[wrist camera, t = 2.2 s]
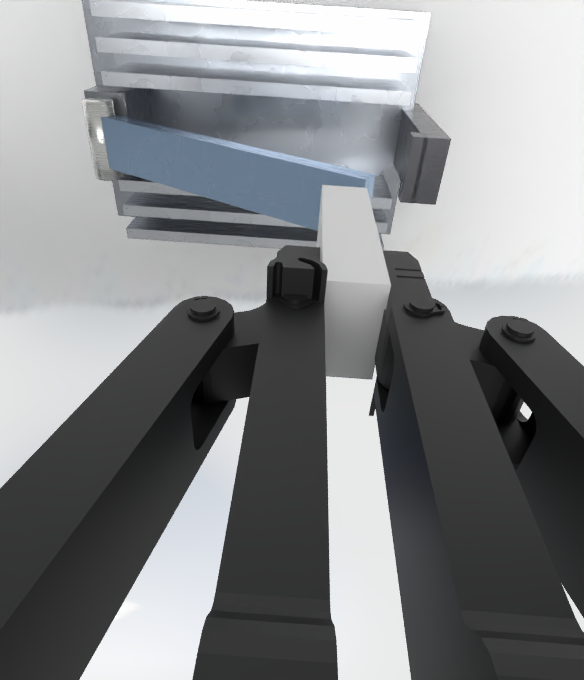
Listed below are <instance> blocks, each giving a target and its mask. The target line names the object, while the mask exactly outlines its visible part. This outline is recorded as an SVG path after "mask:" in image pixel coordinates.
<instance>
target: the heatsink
mask: <svg viewBox="0 0 584 680" xmlns="http://www.w3.org/2000/svg"><path fill="white" fill-rule="evenodd" d="M82 4H83V10H84V16H85V22H86V28H87V34H88V40H89V46H90V51H91V57H92V63H93V69H94V75H95V81H96V86H95V87H92V88H90V89H87V90H85V91H84V94H85V98H109V99H112V100H113V106H114V112H115V115H118V116H123V117H127V118H131V119H136V120H140V121H144V122H149V123H153V124H158V125H162V126H166V127H171V128H175V129H179V130H184V131H188V132H192V133H197V134H201V135H205V136H210V137H214V138H219V139H223V140H227V141H232V142H236V143H240V144H245V145H249V146H253V147H258V148H262V149H266V150H271V151H275V152H279V153H284V154H288V155H293V156H297V157H301V158H306V159H310V160H314V161H319V162H323V163H327V164H332V165H336V166H340V167H345V168H349V169H353V170H358V171H362V172H367V173H371V174H375V179H374V186H373V192H372V199H371V206H372V210H373V214H374V218H375V222H376V226H377V230H378V234H379V238H380V242H381V246H382V250H383V248H384V245H383V241H382V237H381V234H390V231H391V226H392V221H393V215H394V210H395V204H396V199H397V194H398V197H399V200H400V202H406V203H420V204H436V200H437V196H438V192H439V187H440V183H441V179H442V175H443V171H444V166H445V162H446V158H447V154H448V149H449V145H450V141H451V139H450V138H449V137H448V136H447V135H446V133H445V132H444V131H443V130H442V129H441V128H440V127H439V126H438V125H437V124H436V123H435V122H434V121H433V120H432V119H431V117H430V116H429V115H428V114H427V113H426V112H425V111H424V110H423V109H422V108H421V107H420V106H419V105H418V104H414V103H415V97H416V92H417V86H418V81H419V76H420V70H421V65H422V60H423V54H424V49H425V44H426V38H427V33H428V28H429V22H430V17H431V13H428V12H416V11H401V10H385V9H370V8H355V7H340V6H324V5H309V4H294V3H279V2H263V1H248V0H82ZM400 180H401V183H400ZM112 181H113V187H114V193H115V198H116V204H117V210H118V215H120V216H134V217H135V219H134V220H133V221H132V222H131V223H130V225H129V226H128V227H127V228H126V230H127V236H128V238H134V239H149V240H163V241H178V242H192V243H206V244H221V245H235V246H250V247H264V248H278V249H282V248H283V247H284V246H285V245H294V246H308V247H316V246H317V235H318V231H316V230H313V229H310V228H306V227H303V226H300V225H296V224H293V223H290V222H286V221H283V220H280V219H276V218H273V217H270V216H266V215H263V214H260V213H256V212H253V211H250V210H246V209H243V208H240V207H236V206H233V205H230V204H226V203H223V202H220V201H216V200H213V199H210V198H206V197H203V196H200V195H196V194H193V193H190V192H186V191H183V190H180V189H176V188H173V187H170V186H166V185H163V184H160V183H156V182H153V181H150V180H146V179H143V178H140V177H136V176H133V175H130V174H126V173H124V177H123V178H121V179H118V180H112ZM399 183H400V188H399ZM398 188H399V193H398Z"/></svg>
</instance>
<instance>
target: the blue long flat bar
mask: <svg viewBox="0 0 584 680" xmlns="http://www.w3.org/2000/svg"><path fill="white" fill-rule="evenodd" d="M81 101H82V106H83V111H84V116H85V122H86V127H87V132H88V138H89V143H90V148H91V153H92V159H93V164H94V169H95V174H96V178H97V179H100V180H107V181H110V180H118V179H121V178H123V177H124V173H126V174H130V175H133V176H136V177H140V178H143V179H146V180H150V181H153V182H156V183H160V184H163V185H166V186H170V187H173V188H176V189H180V190H183V191H186V192H190V193H193V194H196V195H200V196H203V197H206V198H210V199H213V200H216V201H220V202H223V203H226V204H230V205H233V206H236V207H240V208H243V209H246V210H250V211H253V212H256V213H260V214H263V215H266V216H270V217H273V218H276V219H280V220H283V221H286V222H290V223H293V224H296V225H300V226H303V227H306V228H310V229H313V230H316V231H318V224H319V213H320V202H321V190H322V185H332V186H346V187H361V188H367V190H368V194H369V198H370V202H371V199H372V192H373V186H374V179H375V174H371V173H367V172H362V171H358V170H353V169H349V168H345V167H340V166H336V165H332V164H327V163H323V162H319V161H314V160H310V159H306V158H301V157H297V156H293V155H288V154H284V153H279V152H275V151H271V150H266V149H262V148H258V147H253V146H249V145H245V144H240V143H236V142H232V141H227V140H223V139H219V138H214V137H210V136H205V135H201V134H197V133H192V132H188V131H184V130H179V129H175V128H171V127H166V126H162V125H158V124H153V123H149V122H144V121H140V120H136V119H131V118H127V117H123V116H118V115H115V112H114V106H113V100H112V99H109V98H85V99H82V100H81Z"/></svg>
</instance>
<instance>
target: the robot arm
mask: <svg viewBox="0 0 584 680" xmlns="http://www.w3.org/2000/svg"><path fill="white" fill-rule="evenodd" d="M375 365H376V371H377V378H376V383H375V388H374V393H373V398H372V402H371V407H370V413H369V415H370V416H373V415H374V411H375V409H376V414H377V421H378V429H379V437H380V444H381V452H382V459H383V467H384V475H385V482H386V490H387V498H388V505H389V512H390V520H391V528H392V536H393V543H394V550H395V557H396V566H397V573H398V581H399V589H400V596H401V604H402V612H403V619H404V627H405V634H406V642H407V650H408V657H409V665H410V672H411V680H584V632H583V631H582V630H581V628H580V626H579V624H578V622H577V620H576V618H575V616H574V613H573V611H572V608H571V606H570V604H569V601H568V599H567V596H566V594H565V592H564V589H563V587H562V585H563V586H564V588H565V589H566V591H567V593H568V594H569V596H570V597H571V599H572V600H573V602H574V603H575V605H576V607H577V608H578V610H579V611H580V613H581V614H582V616H583V618H584V366H583V365H582V364H580V363H579V362H578V361H577V360H576V359H575V358H574V357H573V356H572V355H571V354H570V353H569V352H568V351H567V350H566V349H564V348H563V347H562V346H561V345H560V344H559V343H558V342H557V341H556V340H555V339H554V338H553V337H552V336H551V335H549V334H548V333H547V332H546V331H545V330H543V329H542V328H541V327H539V326H538V325H537V324H534V323H532V322H530V321H528V320H527V319H524V318H518V317H515V316H499V317H494V318H492V319H491V320H489V321H488V322H487V325H486V327H485V330H479V329H476V328H472V327H468V326H464V325H461V324H458V323H455V322H454V320H453V318H452V316H451V313H450V311H449V310H448V309H447V307H446V306H445V305H444V304H442V303H441V302H439V301H438V300H436V299H433V298H432V297H431V294H430V292H429V289H428V286H427V284H426V281H425V279H424V275H423V273H422V272H421V267H420V265H419V262H418V260H417V259H415V258H414V257H413V256H412V255H411V254H409V253H408V252H399V251H384V250H382V246H381V242H380V238H379V234H378V230H377V226H376V222H375V218H374V214H373V210H372V206H371V202H370V198H369V194H368V190H367V188H361V187H346V186H332V185H322V190H321V202H320V213H319V224H318V235H317V246H316V247H308V246H294V245H285V246H284V247H283V248H282V249H281V250H280V251H278V252H277V258H275V259H274V260H272V261H270V263H269V265H268V266H267V300H266V303H265V304H264V305H262V306H261V307H259V308H256V309H253V310H250V311H244V312H237V313H234V310H233V307H232V305H231V304H229V303H228V302H227V301H225V300H222V299H219V298H217V297H208V296H201V297H200V296H198V297H193V298H190V299H187V300H184V301H182V302H181V303H179V304H178V305H176V306H175V307H174V308H173V309H172V310H171V311H170V312H169V313H168V315H167V316H166V317H165V318H164V319H163V320H162V321H161V322H160V323H159V324H158V325H157V326H156V327H155V328H154V329H153V330H152V331H151V332H150V333H149V335H147V336H146V337H145V339H144V340H143V341H142V342H141V343H140V344H139V345H138V346H137V347H136V348H135V349H134V350H133V351H132V352H131V353H130V354H129V355H128V356H127V357H126V358H125V359H124V360H123V361H122V362H121V364H120V365H119V366H118V367H117V368H116V369H115V370H114V371H113V372H112V373H111V374H110V375H109V376H108V377H107V378H106V379H105V380H104V381H103V382H102V383H101V384H100V385H99V387H97V389H96V390H95V391H94V392H93V393H92V394H91V395H90V396H89V397H88V398H87V399H86V400H85V401H84V402H83V403H82V404H81V405H80V406H79V407H78V408H77V410H75V411H74V412H73V414H72V415H71V416H70V417H69V418H68V419H67V420H66V421H65V422H64V423H63V424H62V425H61V426H60V427H59V428H58V429H57V430H56V431H55V432H54V433H53V434H52V436H50V438H49V439H48V440H47V441H46V442H45V443H44V444H43V445H42V446H41V447H40V448H39V449H38V450H37V451H36V452H35V453H34V454H33V455H32V456H31V457H30V458H29V459H28V460H27V461H26V462H25V464H24V465H23V466H22V467H21V468H20V469H19V470H18V471H17V472H16V473H15V474H14V475H13V476H12V477H11V478H10V479H9V480H8V481H7V482H6V483H5V484H4V485H3V486H2V487H1V489H0V680H79V679H80V677H81V675H82V674H83V672H84V670H85V668H86V667H87V665H88V663H89V661H90V660H91V658H92V656H93V654H94V653H95V651H96V649H97V647H98V646H99V644H100V642H101V640H102V638H103V637H104V635H105V633H106V632H107V630H108V628H109V626H110V624H111V623H112V621H113V619H114V618H115V616H116V614H117V612H118V610H119V609H120V607H121V605H122V603H123V602H124V600H125V598H126V596H127V595H128V593H129V591H130V589H131V588H132V586H133V584H134V582H135V581H136V579H137V577H138V575H139V574H140V572H141V570H142V568H143V566H144V565H145V563H146V561H147V559H148V558H149V556H150V554H151V552H152V551H153V549H154V547H155V545H156V544H157V542H158V540H159V538H160V537H161V535H162V533H163V531H164V530H165V528H166V526H167V524H168V523H169V521H170V519H171V517H172V516H173V514H174V512H175V510H176V509H177V507H178V505H179V503H180V501H181V500H182V498H183V496H184V494H185V493H186V491H187V489H188V487H189V486H190V484H191V482H192V480H193V479H194V477H195V475H196V473H197V472H198V470H199V468H200V466H201V465H202V463H203V461H204V459H205V458H206V456H207V454H208V452H209V451H210V449H211V447H212V445H213V444H214V442H215V440H216V438H217V437H218V435H219V433H220V431H221V430H222V428H223V426H224V424H225V423H226V421H227V419H228V417H229V415H230V414H231V412H232V410H233V408H234V406H235V402H236V399H239V398H244V397H249V403H248V409H247V415H246V421H245V426H244V432H243V438H242V444H241V449H240V455H239V461H238V466H237V473H236V478H235V484H234V490H233V495H232V501H231V507H230V512H229V518H228V524H227V530H226V536H225V541H224V547H223V553H222V558H221V564H220V570H219V576H218V581H217V587H216V593H215V598H214V603H213V606H212V609H211V611H210V613H209V614H208V616H207V617H206V620H205V623H204V627H203V630H202V634H201V639H200V644H199V648H198V653H197V659H196V664H195V669H194V675H193V680H338V668H337V645H336V635H335V627H334V624H333V622H332V620H331V613H330V584H329V582H330V581H329V527H328V473H327V420H326V419H327V418H326V376H331V377H346V378H359V379H372V377H373V372H374V367H375ZM523 402H525V403H526V404H527V406H528V407H529V408H530V409H531V411H532V414H531V416H530V418H529V419H528V420H527V419H526V418H525V417H524V416H523V415H522V413H521V412H520V409H521V406H522V404H523ZM561 583H562V584H561Z"/></svg>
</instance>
